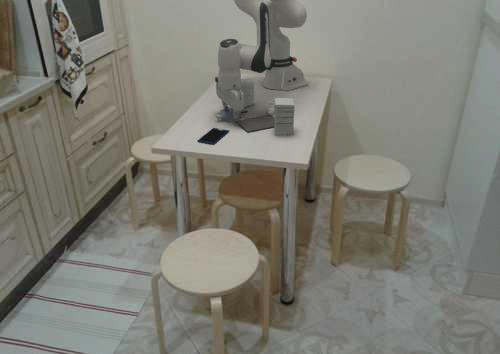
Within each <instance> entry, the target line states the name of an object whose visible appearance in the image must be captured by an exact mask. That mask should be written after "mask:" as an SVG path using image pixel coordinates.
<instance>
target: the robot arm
mask: <svg viewBox="0 0 500 354" xmlns="http://www.w3.org/2000/svg"><path fill="white" fill-rule="evenodd" d="M233 2H234V4H235V6H236V7H237V8H238V9H239V10H240V11H241V12H243V13H244V14H246V15H247V16H250V17H251V18H252V20H253V21H254V23H255V26H256V45H248V44H244V43H239V40H238V39H235V38H227V39H223V40H222V41H220V42H219V44H218V50H217V51H218V52H217V65H218V68H219V71H218V75H217V76H215V77H214V82H215V88H216V89H215V91H216V96H217V98H218V99H219V100H221V103H222V106H223V107H222V108H223V109H229V108H232V109H233V111H234V113H233V118H234V119H237V118H238V113H239V111H245V108H246V107H245V106H244V95H243V92H242V91H240V88H239V87H241V79H242V73H241V70H246V71H251V72H253V73H257V74H262V73H264V72H265V74H264V75H265V76H264V81H263V84H262V86H263V87H264V88H266V89H269V90H274V91H275V90H276V91H283V92H284V91H285V92H288V91H291V90H295V89H299V88H302V87H306V86H308V85H309V81H308V80H307V79H305V76H304V72H303V71H302V69H300V67H298V66H296V64H294V63H297V62H298V61H297V60H298V59H297V57H294V56H291V41H290V39H289V37H288V36H287V35H285V34H284V33H282V31H281V29H280V28H286V29H296V28H301V27H303V26H304V25H305V23H306V22H307V17H308V14H307V13H308V12H307V9H306V8H305V6H304V5H302V4H301V3H300V2H299V1H298V0H265V1H264V0H233Z"/></svg>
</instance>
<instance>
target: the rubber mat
mask: <svg viewBox="0 0 500 354" xmlns="http://www.w3.org/2000/svg"><path fill="white" fill-rule="evenodd" d="M234 123H235V124H236V125H237V126H239V127H240V128H241V129H242V130H244V131H245V132H246V133H247V134H250V133H254V132H259V131H265V130H268V129H274V115H267V114H264V115H258V116H254V117H249V118H242V119H238V120H234Z"/></svg>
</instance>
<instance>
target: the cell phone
mask: <svg viewBox="0 0 500 354" xmlns="http://www.w3.org/2000/svg"><path fill="white" fill-rule="evenodd" d="M229 133H230V130H229V129H224V128H217V127H213V128H211V129H209V130H208V131H207V132H206V133H205V134H204V135H202V136H201V137H200V138H199V139H197V143H199V144H200V143H201V144H204V145H205V144H206V145H209V146H210V145H211V146H214V145H216V144H217V143H218V142H219V141H221V140H222V139H223V138H224V137H225V136H226V135H227V134H229Z"/></svg>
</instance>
